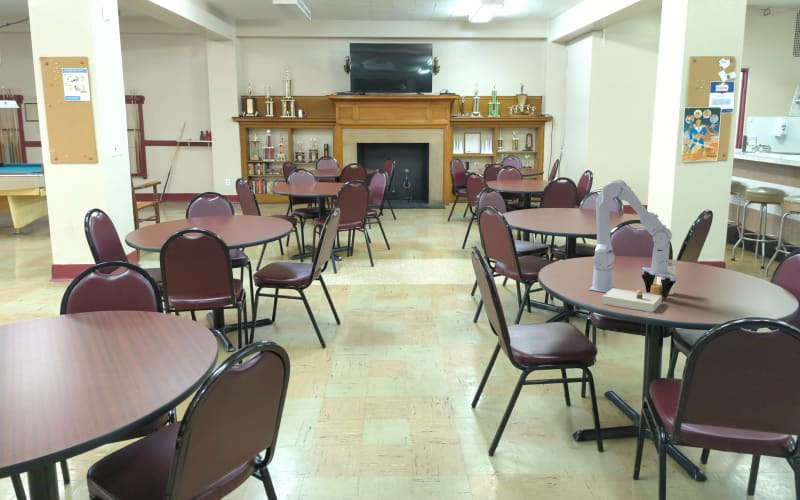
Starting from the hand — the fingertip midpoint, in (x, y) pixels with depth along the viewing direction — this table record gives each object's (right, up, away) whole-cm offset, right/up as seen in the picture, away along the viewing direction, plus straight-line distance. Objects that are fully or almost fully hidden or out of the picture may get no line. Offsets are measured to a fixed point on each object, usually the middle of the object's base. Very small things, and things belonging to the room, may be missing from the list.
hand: (656, 294), depth 242 cm
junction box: (-12, -3, -7) cm, 14 cm away
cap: (0, -1, 0) cm, 1 cm away
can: (+6, 0, +8) cm, 10 cm away
